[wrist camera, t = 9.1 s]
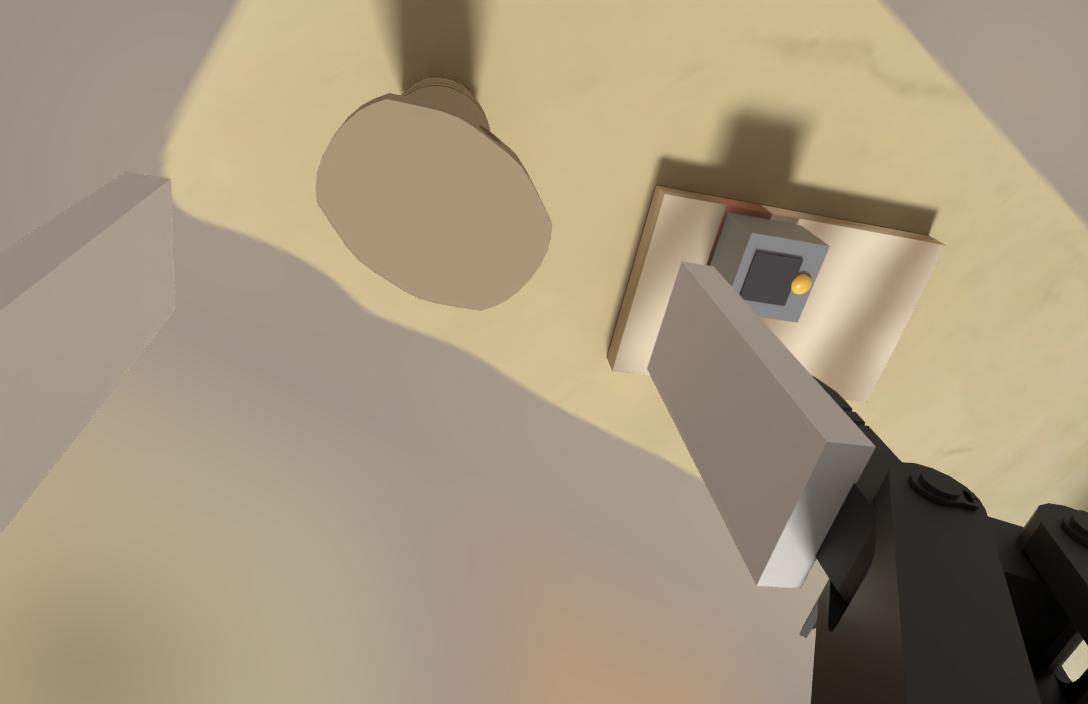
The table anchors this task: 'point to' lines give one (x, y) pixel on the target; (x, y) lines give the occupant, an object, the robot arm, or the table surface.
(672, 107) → the table surface
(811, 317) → the plank
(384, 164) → the handle
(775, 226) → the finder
